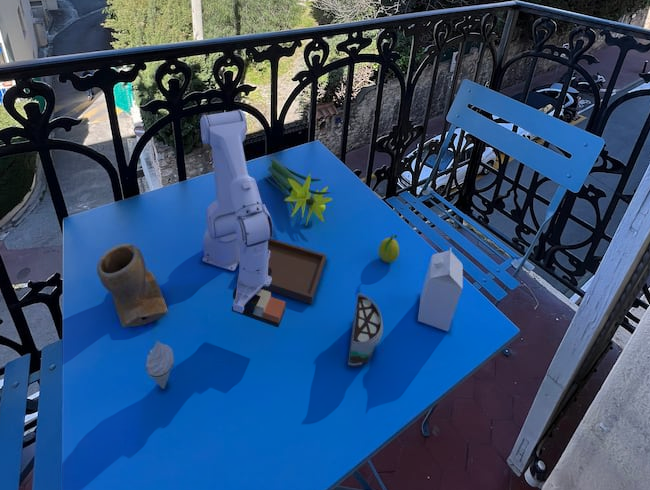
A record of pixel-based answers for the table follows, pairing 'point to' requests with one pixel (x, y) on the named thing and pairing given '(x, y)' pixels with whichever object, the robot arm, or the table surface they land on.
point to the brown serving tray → (294, 270)
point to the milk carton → (441, 290)
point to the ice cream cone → (160, 363)
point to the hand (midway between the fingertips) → (252, 304)
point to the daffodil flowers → (299, 190)
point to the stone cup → (131, 286)
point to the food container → (364, 331)
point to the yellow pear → (389, 249)
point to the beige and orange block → (267, 309)
